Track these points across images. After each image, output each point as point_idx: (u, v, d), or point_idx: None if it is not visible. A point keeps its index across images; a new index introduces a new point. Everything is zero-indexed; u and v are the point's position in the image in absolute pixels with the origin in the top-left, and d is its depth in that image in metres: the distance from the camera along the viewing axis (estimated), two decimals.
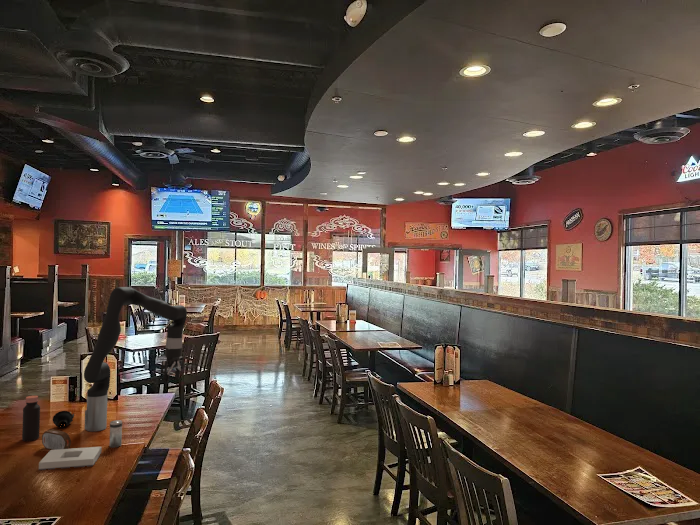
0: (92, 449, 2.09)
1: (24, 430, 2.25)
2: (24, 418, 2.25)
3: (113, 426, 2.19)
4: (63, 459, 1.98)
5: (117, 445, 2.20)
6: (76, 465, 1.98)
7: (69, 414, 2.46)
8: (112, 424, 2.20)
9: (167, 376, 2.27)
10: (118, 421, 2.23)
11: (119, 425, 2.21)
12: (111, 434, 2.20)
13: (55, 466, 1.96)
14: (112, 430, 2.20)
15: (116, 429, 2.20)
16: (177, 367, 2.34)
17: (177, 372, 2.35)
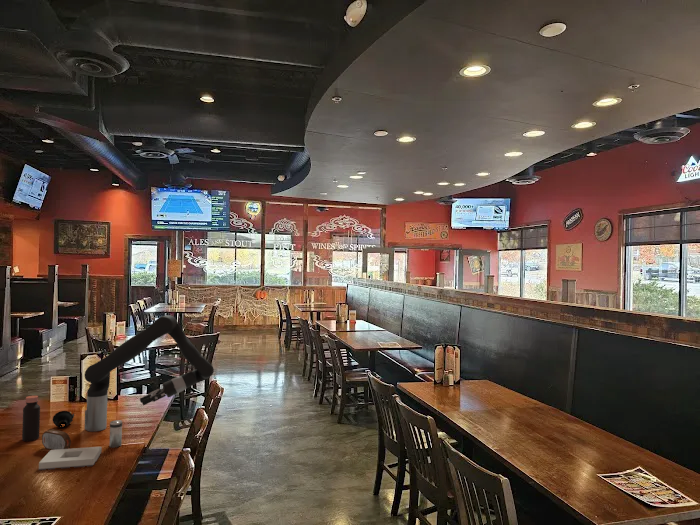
0: (92, 449, 2.09)
1: (24, 430, 2.25)
2: (24, 418, 2.25)
3: (113, 426, 2.19)
4: (63, 459, 1.98)
5: (117, 445, 2.20)
6: (76, 465, 1.98)
7: (69, 414, 2.46)
8: (112, 424, 2.20)
9: (149, 402, 2.27)
10: (118, 421, 2.23)
11: (119, 425, 2.21)
12: (111, 434, 2.20)
13: (55, 466, 1.96)
14: (112, 430, 2.20)
15: (116, 429, 2.20)
16: None
17: (147, 398, 2.34)
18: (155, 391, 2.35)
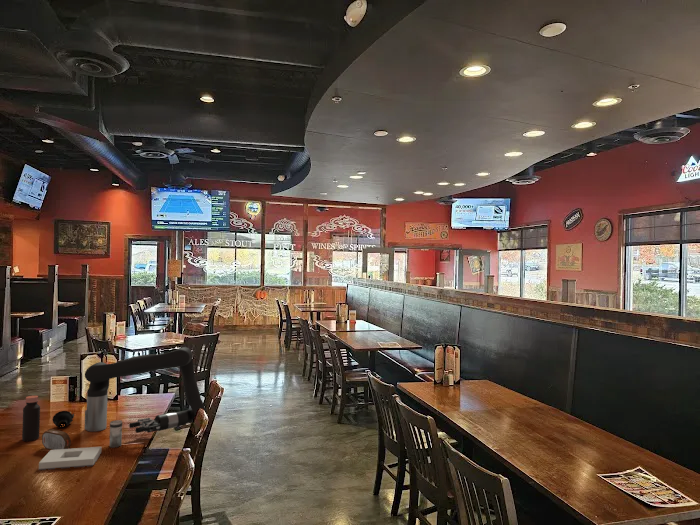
0: (92, 449, 2.09)
1: (24, 430, 2.25)
2: (24, 418, 2.25)
3: (113, 426, 2.19)
4: (63, 459, 1.98)
5: (117, 445, 2.20)
6: (76, 465, 1.98)
7: (69, 414, 2.46)
8: (112, 424, 2.20)
9: (142, 431, 2.26)
10: (118, 421, 2.23)
11: (119, 425, 2.21)
12: (111, 434, 2.20)
13: (55, 466, 1.96)
14: (112, 430, 2.20)
15: (116, 429, 2.20)
16: (142, 425, 2.33)
17: (136, 425, 2.32)
18: (147, 421, 2.34)
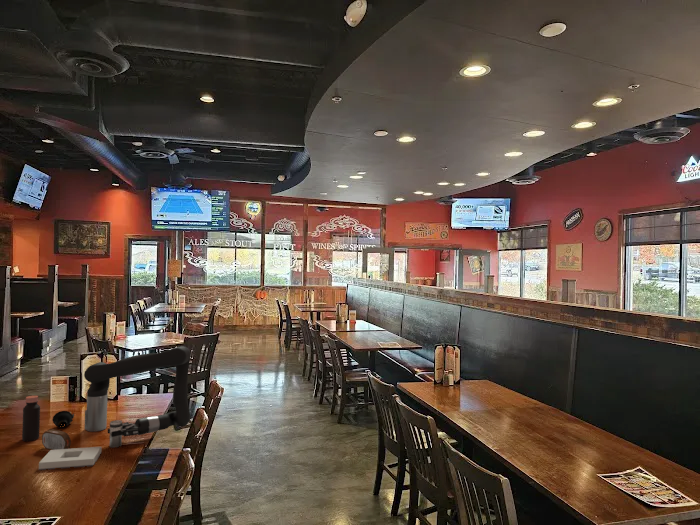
0: (92, 449, 2.09)
1: (24, 430, 2.25)
2: (24, 418, 2.25)
3: (113, 426, 2.19)
4: (63, 459, 1.98)
5: (117, 445, 2.20)
6: (76, 465, 1.98)
7: (69, 414, 2.46)
8: (112, 424, 2.20)
9: (118, 435, 2.20)
10: (118, 421, 2.23)
11: (119, 425, 2.21)
12: None
13: (55, 466, 1.96)
14: (112, 430, 2.20)
15: (116, 429, 2.20)
16: None
17: None
18: (127, 425, 2.27)
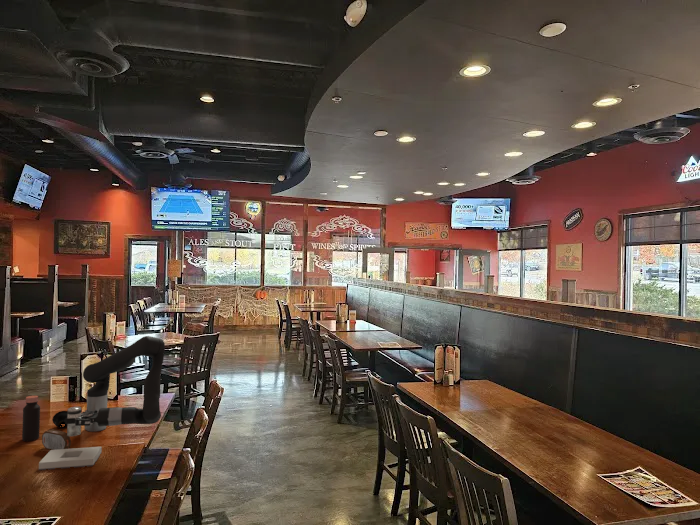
0: (92, 449, 2.09)
1: (24, 430, 2.25)
2: (24, 418, 2.25)
3: (68, 412, 2.01)
4: (63, 459, 1.98)
5: (72, 434, 2.01)
6: (76, 465, 1.98)
7: None
8: (68, 410, 2.02)
9: (72, 423, 2.01)
10: (77, 408, 2.04)
11: (74, 412, 2.02)
12: None
13: (55, 466, 1.96)
14: (68, 417, 2.02)
15: (71, 416, 2.01)
16: None
17: None
18: (89, 413, 2.06)
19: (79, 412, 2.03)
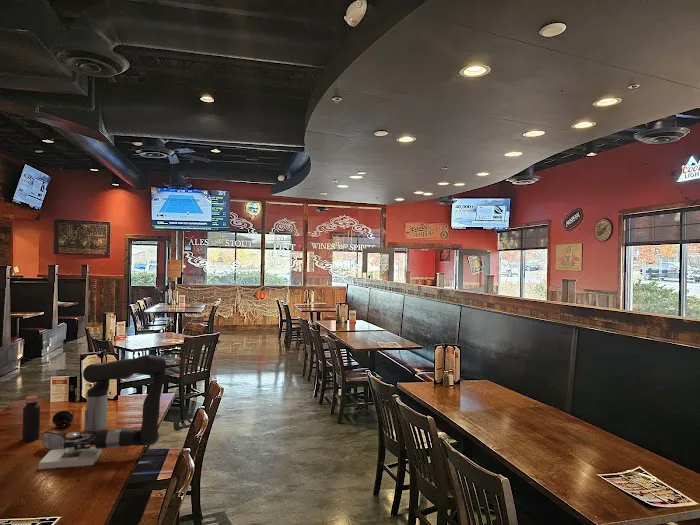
0: (92, 449, 2.09)
1: (24, 430, 2.25)
2: (24, 418, 2.25)
3: (66, 438, 2.01)
4: (63, 459, 1.98)
5: None
6: (76, 465, 1.98)
7: (69, 414, 2.46)
8: (66, 436, 2.02)
9: (71, 447, 1.99)
10: (75, 434, 2.04)
11: (72, 438, 2.01)
12: None
13: (55, 466, 1.96)
14: None
15: None
16: None
17: None
18: (87, 435, 2.06)
19: (77, 438, 2.03)
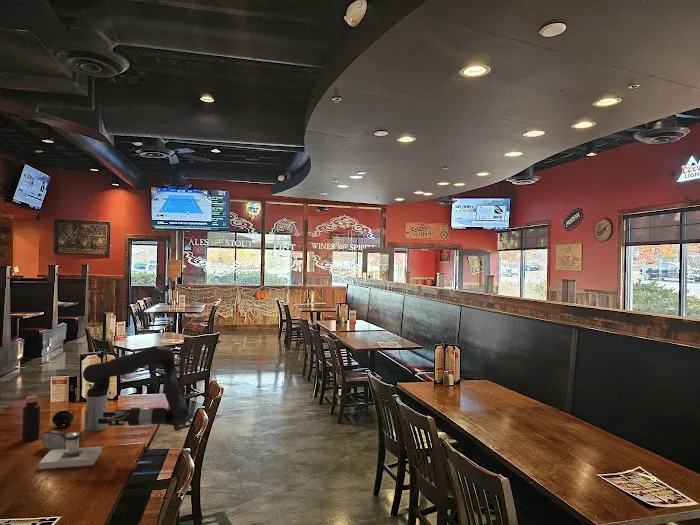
0: (92, 449, 2.09)
1: (24, 430, 2.25)
2: (24, 418, 2.25)
3: (66, 438, 2.01)
4: (63, 459, 1.98)
5: None
6: (76, 465, 1.98)
7: (69, 414, 2.46)
8: (65, 436, 2.02)
9: (105, 423, 2.03)
10: (74, 433, 2.04)
11: (72, 438, 2.01)
12: (65, 447, 2.02)
13: (55, 466, 1.96)
14: (65, 442, 2.02)
15: (69, 442, 2.01)
16: None
17: (110, 415, 2.11)
18: (120, 412, 2.10)
19: (77, 438, 2.03)
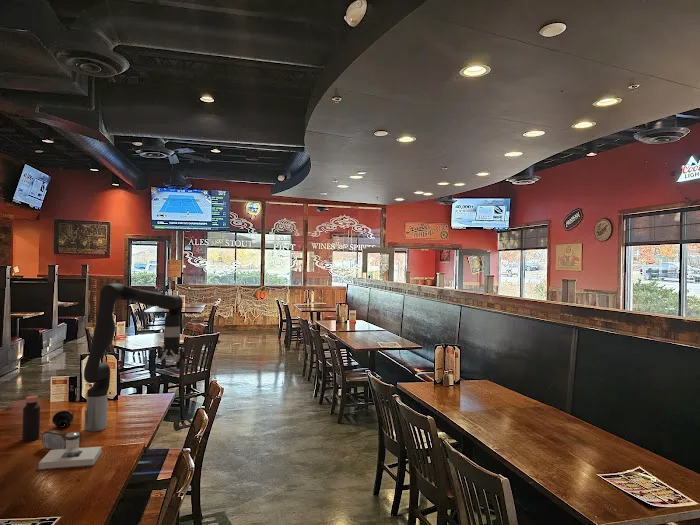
0: (92, 449, 2.09)
1: (24, 430, 2.25)
2: (24, 418, 2.25)
3: (66, 438, 2.01)
4: (63, 459, 1.98)
5: None
6: (76, 465, 1.98)
7: (69, 414, 2.46)
8: (66, 436, 2.02)
9: None
10: (75, 433, 2.04)
11: (72, 438, 2.01)
12: None
13: (55, 466, 1.96)
14: (66, 442, 2.02)
15: (69, 442, 2.01)
16: (167, 355, 2.39)
17: (164, 361, 2.39)
18: (166, 353, 2.37)
19: (77, 438, 2.03)
